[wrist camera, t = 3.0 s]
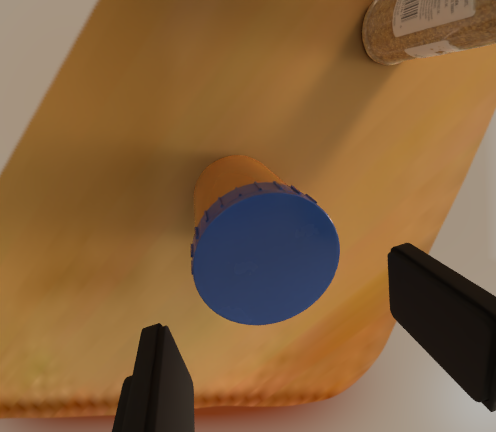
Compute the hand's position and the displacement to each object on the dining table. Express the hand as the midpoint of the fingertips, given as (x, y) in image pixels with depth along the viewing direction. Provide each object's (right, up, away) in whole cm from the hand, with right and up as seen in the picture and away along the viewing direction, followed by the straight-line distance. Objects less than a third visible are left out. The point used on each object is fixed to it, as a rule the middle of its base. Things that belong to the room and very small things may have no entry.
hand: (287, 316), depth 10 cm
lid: (-1, +1, +3) cm, 3 cm away
